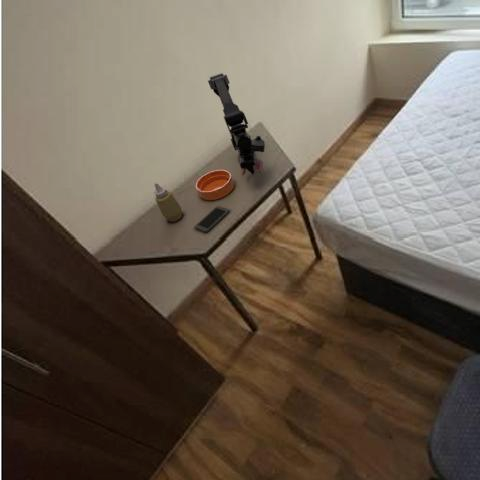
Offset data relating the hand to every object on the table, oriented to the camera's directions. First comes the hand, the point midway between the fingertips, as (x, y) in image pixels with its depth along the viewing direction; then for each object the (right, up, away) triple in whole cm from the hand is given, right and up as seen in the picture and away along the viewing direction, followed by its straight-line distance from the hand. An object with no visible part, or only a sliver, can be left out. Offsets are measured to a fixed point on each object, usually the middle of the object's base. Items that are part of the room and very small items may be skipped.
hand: (253, 169), depth 177 cm
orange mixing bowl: (-16, -9, +2) cm, 19 cm away
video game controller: (0, -1, +1) cm, 1 cm away
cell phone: (-14, -23, -13) cm, 30 cm away
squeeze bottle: (-32, -22, -7) cm, 39 cm away
